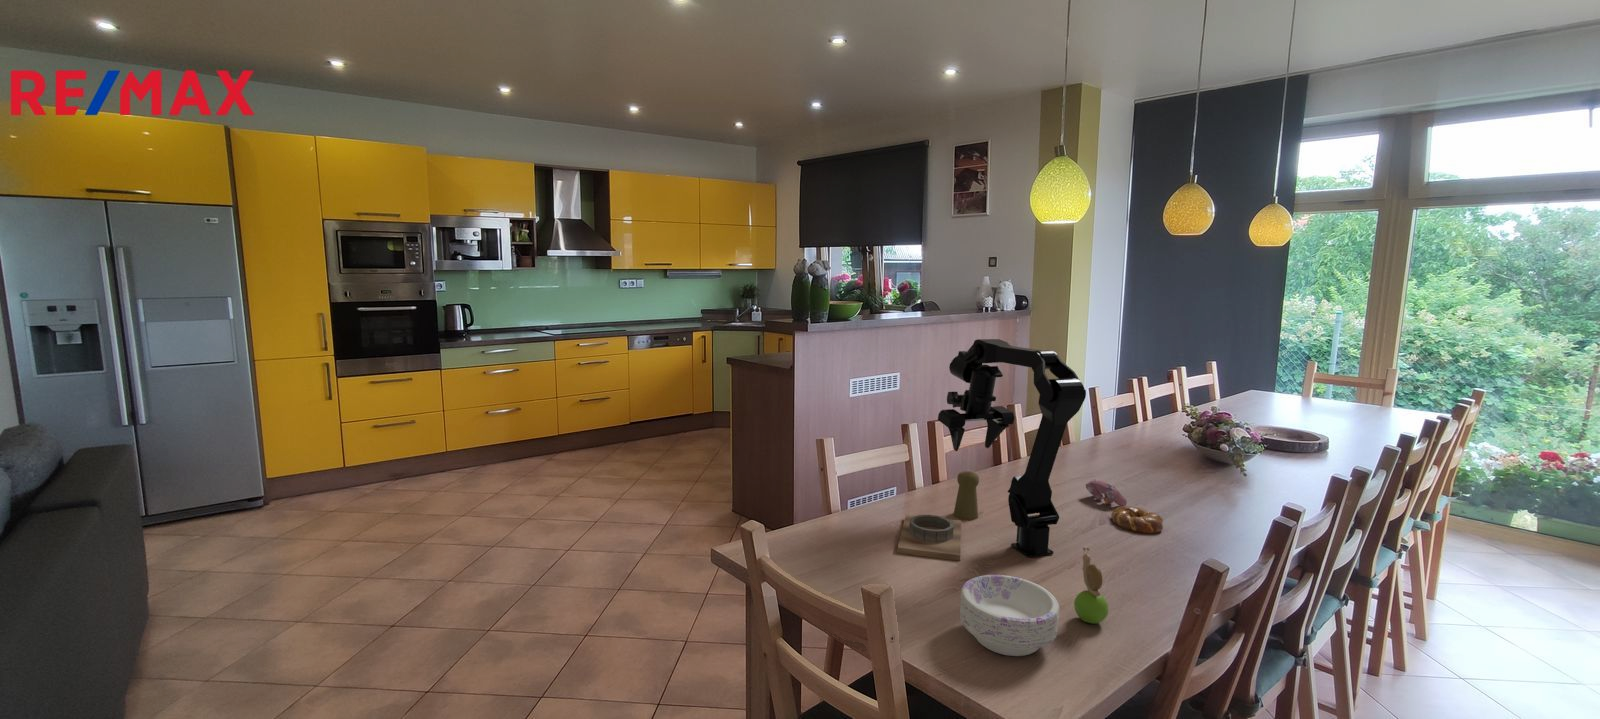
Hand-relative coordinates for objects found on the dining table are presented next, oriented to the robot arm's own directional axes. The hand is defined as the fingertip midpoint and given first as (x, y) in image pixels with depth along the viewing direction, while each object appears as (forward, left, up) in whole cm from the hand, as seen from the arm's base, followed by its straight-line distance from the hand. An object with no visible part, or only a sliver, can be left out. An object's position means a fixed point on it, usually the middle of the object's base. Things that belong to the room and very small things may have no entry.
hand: (971, 449), depth 163 cm
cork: (-2, +1, -17) cm, 17 cm away
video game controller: (-4, -41, -17) cm, 44 cm away
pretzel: (-19, -35, -17) cm, 43 cm away
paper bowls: (-52, +27, -17) cm, 61 cm away
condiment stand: (-12, +17, -16) cm, 27 cm away
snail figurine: (-51, +9, -17) cm, 54 cm away
